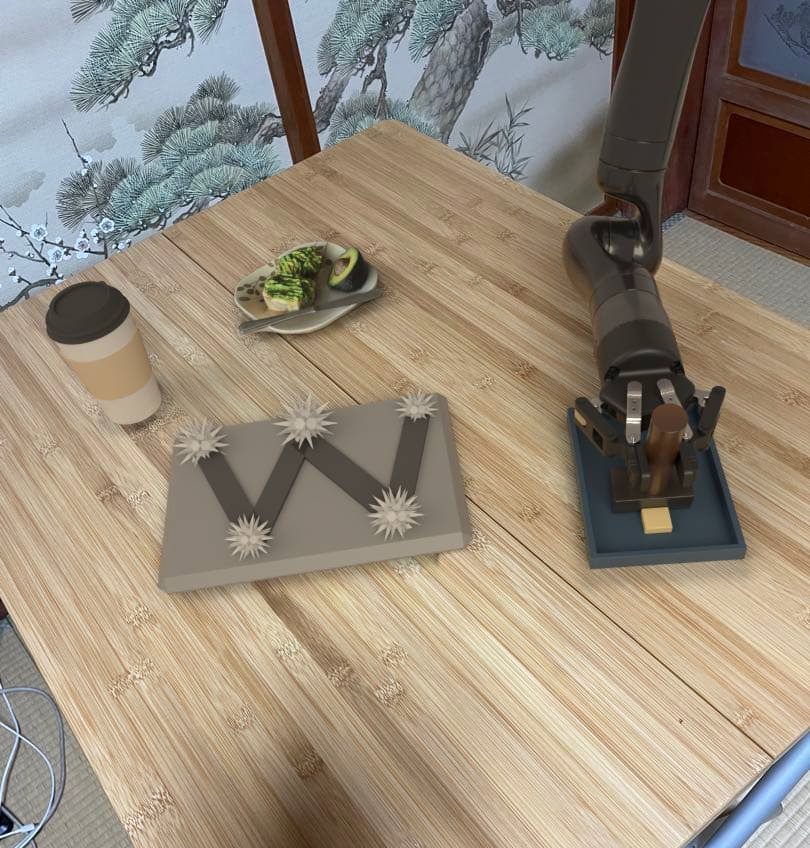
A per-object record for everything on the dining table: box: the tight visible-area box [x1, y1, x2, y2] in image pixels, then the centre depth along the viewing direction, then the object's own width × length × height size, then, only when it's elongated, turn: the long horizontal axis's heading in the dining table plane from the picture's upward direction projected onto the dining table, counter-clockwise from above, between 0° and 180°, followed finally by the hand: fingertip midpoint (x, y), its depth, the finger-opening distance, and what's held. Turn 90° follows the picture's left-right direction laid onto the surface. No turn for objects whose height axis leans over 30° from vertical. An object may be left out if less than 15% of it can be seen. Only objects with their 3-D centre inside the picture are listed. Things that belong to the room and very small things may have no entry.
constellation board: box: [157, 386, 474, 595], centre depth 82 cm, size 30×22×7 cm
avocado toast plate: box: [233, 240, 386, 335], centre depth 104 cm, size 19×18×5 cm
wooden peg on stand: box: [608, 403, 695, 514], centre depth 72 cm, size 4×7×13 cm, turn 89°
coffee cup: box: [44, 280, 163, 426], centre depth 92 cm, size 9×9×15 cm
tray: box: [566, 403, 748, 570], centre depth 79 cm, size 19×13×2 cm
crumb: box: [641, 507, 672, 534], centre depth 76 cm, size 2×2×1 cm
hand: (666, 482), depth 69 cm, fingers closed on wooden peg on stand, 3 cm apart
